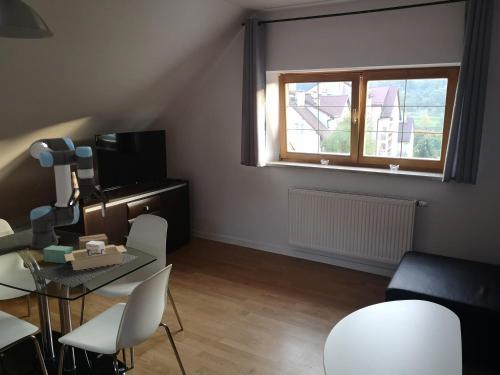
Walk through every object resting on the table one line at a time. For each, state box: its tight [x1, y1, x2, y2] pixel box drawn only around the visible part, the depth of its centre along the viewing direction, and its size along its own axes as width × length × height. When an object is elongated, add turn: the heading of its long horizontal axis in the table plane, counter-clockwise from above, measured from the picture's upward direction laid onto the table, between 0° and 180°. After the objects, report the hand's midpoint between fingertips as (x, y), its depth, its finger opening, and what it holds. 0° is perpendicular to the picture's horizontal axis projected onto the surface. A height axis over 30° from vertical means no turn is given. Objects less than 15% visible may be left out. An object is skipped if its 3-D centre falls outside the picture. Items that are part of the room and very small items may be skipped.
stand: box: [78, 233, 109, 250], centre depth 234 cm, size 10×14×10 cm
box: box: [42, 245, 74, 264], centre depth 226 cm, size 7×14×8 cm, turn 79°
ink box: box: [86, 241, 105, 257], centre depth 220 cm, size 8×5×12 cm, turn 73°
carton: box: [64, 244, 128, 270], centre depth 221 cm, size 19×30×8 cm, turn 118°
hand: (89, 217), depth 216 cm, fingers open, 13 cm apart
